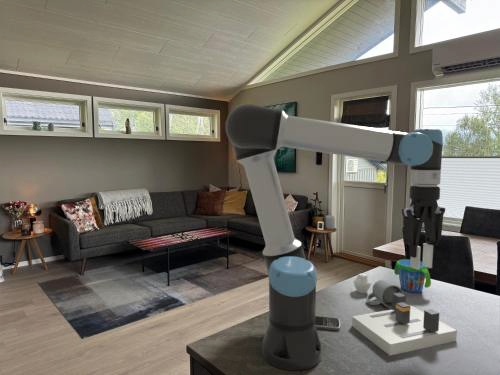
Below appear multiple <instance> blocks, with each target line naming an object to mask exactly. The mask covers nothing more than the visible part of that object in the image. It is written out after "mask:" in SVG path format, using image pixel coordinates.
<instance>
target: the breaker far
mask: <svg viewBox="0 0 500 375" xmlns="http://www.w3.org/2000/svg"><path fill="white" fill-rule="evenodd" d="M406 297H407V296H406V295H405V294H404V293H403V294H401V293H394V294H393V301H392V308H391V310H394V311H396V303H402V302H404V303H406V304H407V302H406V300H407V298H406Z"/></svg>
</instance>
